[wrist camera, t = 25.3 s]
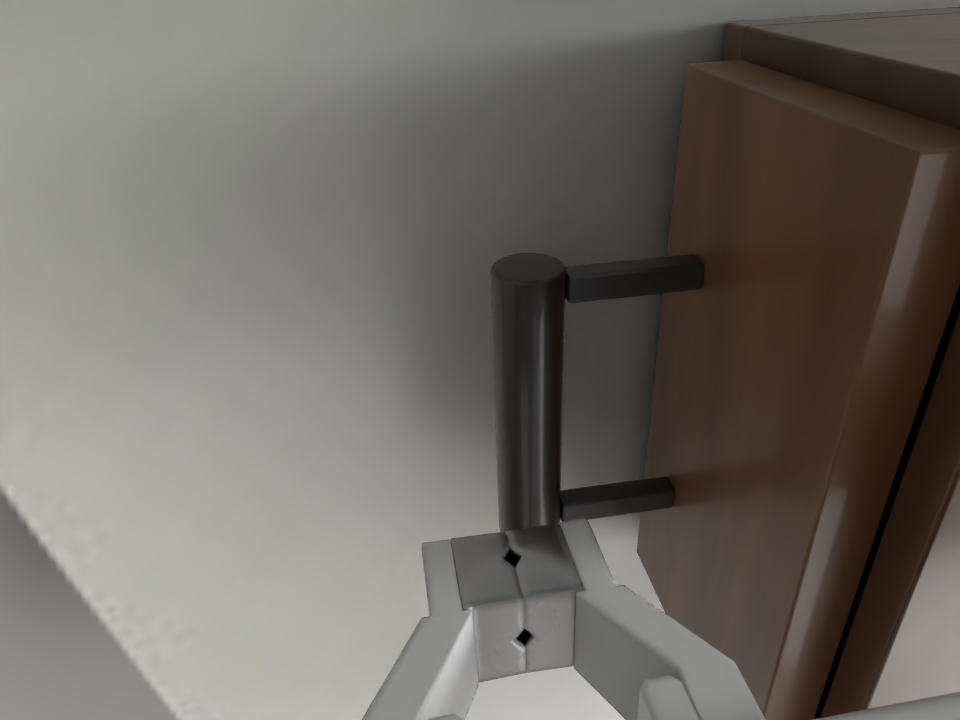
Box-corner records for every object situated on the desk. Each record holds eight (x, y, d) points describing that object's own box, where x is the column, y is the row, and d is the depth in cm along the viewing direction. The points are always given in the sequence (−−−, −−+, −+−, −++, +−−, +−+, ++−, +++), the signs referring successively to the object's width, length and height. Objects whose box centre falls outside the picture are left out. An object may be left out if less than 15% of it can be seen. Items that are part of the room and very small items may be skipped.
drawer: (492, 572, 21) (547, 821, 15) (470, 77, 14) (559, 183, 8) (1074, 486, 23) (1322, 675, 17) (1311, 19, 16) (1870, 68, 10)
